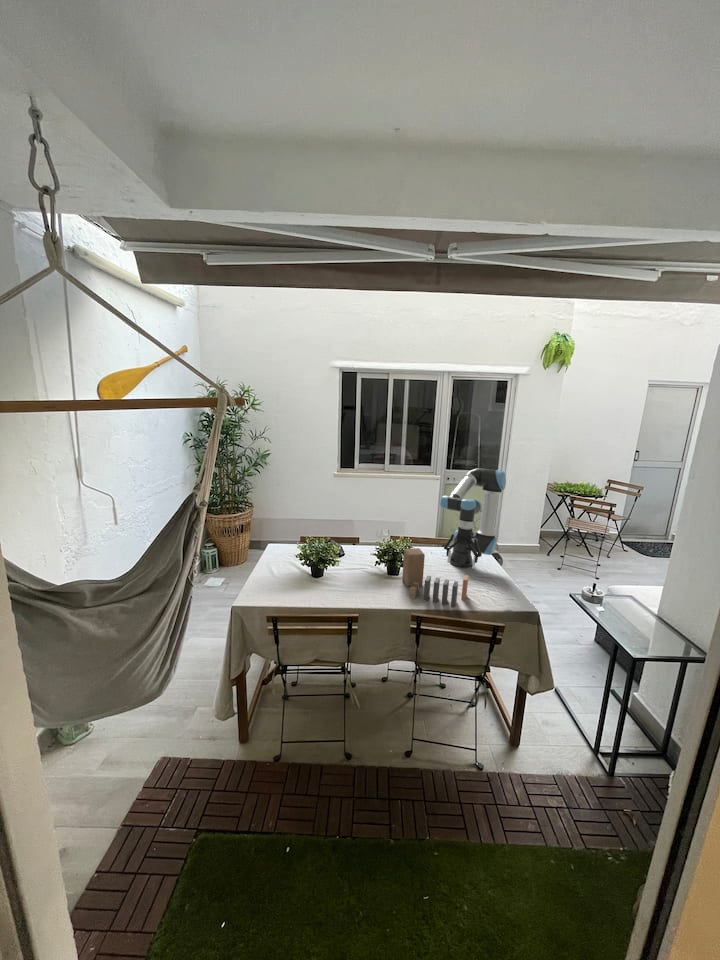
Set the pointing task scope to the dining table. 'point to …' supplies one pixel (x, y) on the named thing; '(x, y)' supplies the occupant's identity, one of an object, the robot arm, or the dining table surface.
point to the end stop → (414, 590)
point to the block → (413, 566)
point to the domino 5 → (464, 587)
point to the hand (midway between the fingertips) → (460, 565)
